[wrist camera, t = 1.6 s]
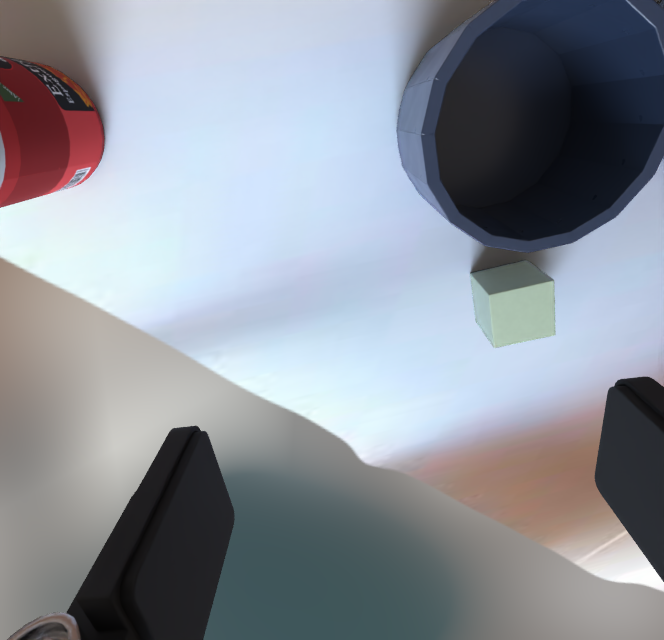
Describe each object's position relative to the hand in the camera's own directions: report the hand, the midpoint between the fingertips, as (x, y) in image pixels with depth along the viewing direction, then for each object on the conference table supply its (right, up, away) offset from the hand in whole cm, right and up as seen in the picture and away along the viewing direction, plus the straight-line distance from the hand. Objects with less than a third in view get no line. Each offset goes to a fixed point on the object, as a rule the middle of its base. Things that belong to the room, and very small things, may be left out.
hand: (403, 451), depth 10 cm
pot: (+9, +17, +19) cm, 27 cm away
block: (+12, +5, +25) cm, 28 cm away
